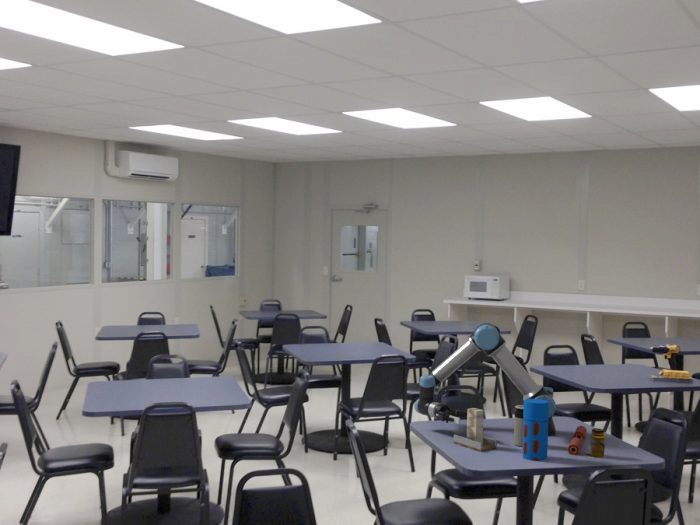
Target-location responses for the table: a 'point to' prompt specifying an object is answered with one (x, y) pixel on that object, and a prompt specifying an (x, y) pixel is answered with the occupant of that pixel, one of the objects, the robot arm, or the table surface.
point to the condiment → (597, 444)
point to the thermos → (535, 429)
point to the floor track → (476, 443)
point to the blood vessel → (577, 440)
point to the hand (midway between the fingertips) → (470, 419)
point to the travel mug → (518, 425)
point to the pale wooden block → (475, 424)
